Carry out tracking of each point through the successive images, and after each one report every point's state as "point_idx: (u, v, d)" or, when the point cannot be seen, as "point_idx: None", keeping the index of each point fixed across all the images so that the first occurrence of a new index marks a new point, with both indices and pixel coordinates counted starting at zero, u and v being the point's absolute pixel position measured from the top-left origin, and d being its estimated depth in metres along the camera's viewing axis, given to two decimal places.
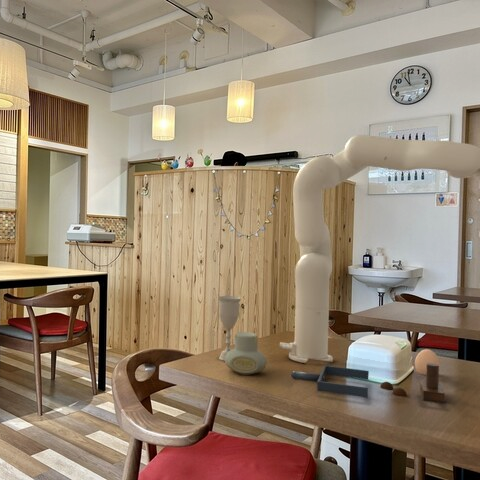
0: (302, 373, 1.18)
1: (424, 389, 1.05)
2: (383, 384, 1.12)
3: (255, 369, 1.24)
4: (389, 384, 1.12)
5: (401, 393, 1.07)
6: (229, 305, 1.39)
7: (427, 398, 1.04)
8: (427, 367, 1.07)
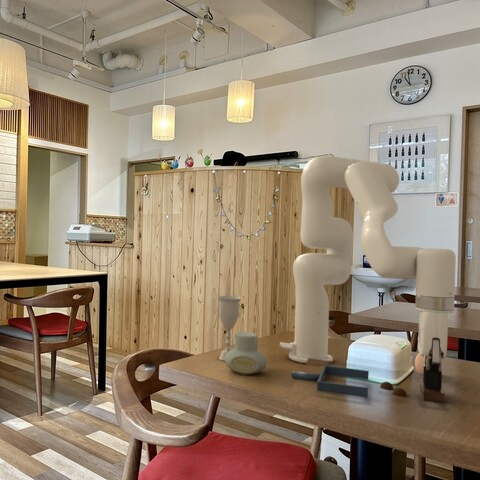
0: (302, 373, 1.18)
1: (424, 389, 1.05)
2: (383, 384, 1.12)
3: (255, 369, 1.24)
4: (389, 384, 1.12)
5: (401, 393, 1.07)
6: (229, 305, 1.39)
7: (427, 398, 1.04)
8: None
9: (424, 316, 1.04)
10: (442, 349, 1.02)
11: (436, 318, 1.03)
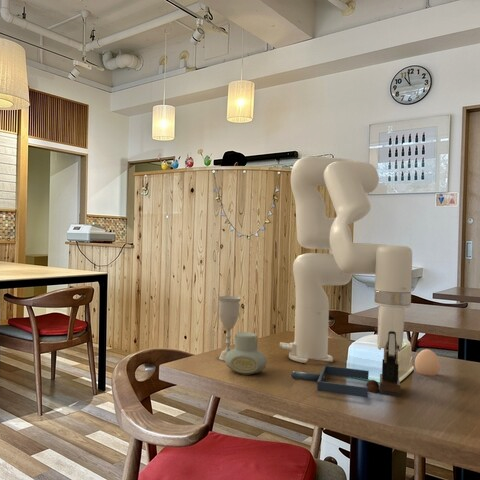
0: (302, 373, 1.18)
1: (381, 381, 1.09)
2: None
3: (255, 369, 1.24)
4: (367, 386, 1.14)
5: None
6: (229, 305, 1.39)
7: (384, 390, 1.08)
8: None
9: (381, 310, 1.08)
10: (398, 342, 1.06)
11: (392, 312, 1.07)
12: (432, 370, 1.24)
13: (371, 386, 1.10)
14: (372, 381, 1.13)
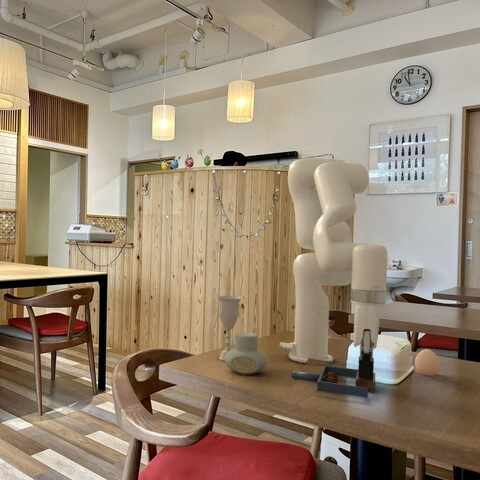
0: (302, 373, 1.18)
1: (357, 378, 1.11)
2: None
3: (255, 369, 1.24)
4: None
5: None
6: (229, 305, 1.39)
7: (359, 386, 1.10)
8: None
9: (357, 308, 1.10)
10: (372, 340, 1.08)
11: (367, 310, 1.09)
12: (432, 370, 1.24)
13: (328, 379, 1.14)
14: (328, 374, 1.18)
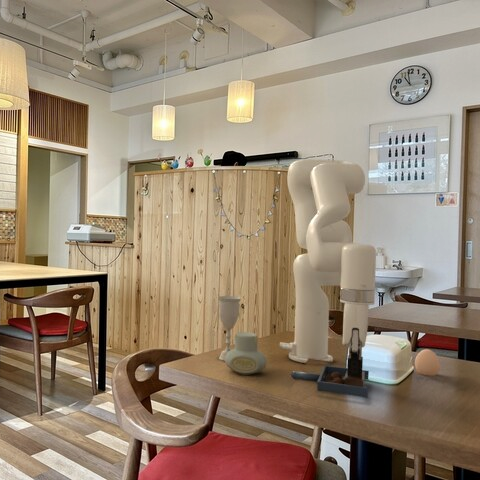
0: (302, 373, 1.18)
1: (346, 376, 1.12)
2: None
3: (255, 369, 1.24)
4: (331, 376, 1.18)
5: None
6: (229, 305, 1.39)
7: None
8: None
9: (345, 308, 1.11)
10: (361, 338, 1.09)
11: (356, 309, 1.10)
12: (432, 370, 1.24)
13: (341, 380, 1.13)
14: (337, 373, 1.18)
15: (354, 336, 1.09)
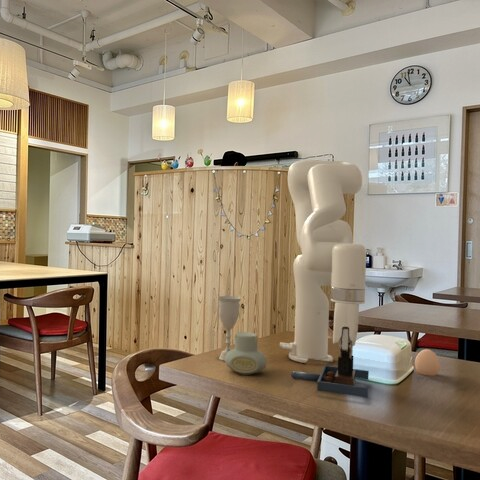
0: (302, 373, 1.18)
1: (336, 375, 1.13)
2: None
3: (255, 369, 1.24)
4: None
5: None
6: (229, 305, 1.39)
7: (338, 383, 1.12)
8: None
9: (336, 307, 1.12)
10: (351, 337, 1.10)
11: (346, 308, 1.10)
12: (432, 370, 1.24)
13: (324, 380, 1.14)
14: None
15: (344, 335, 1.10)
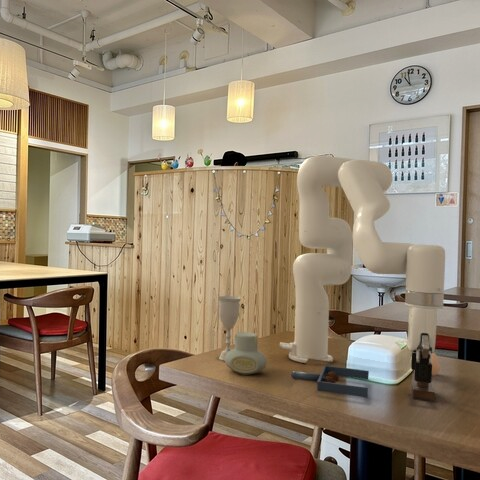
0: (302, 373, 1.18)
1: (414, 388, 1.06)
2: None
3: (255, 369, 1.24)
4: None
5: None
6: (229, 305, 1.39)
7: (417, 397, 1.05)
8: None
9: (413, 312, 1.05)
10: (430, 344, 1.03)
11: (425, 313, 1.04)
12: (432, 370, 1.24)
13: (325, 379, 1.14)
14: (330, 372, 1.19)
15: None
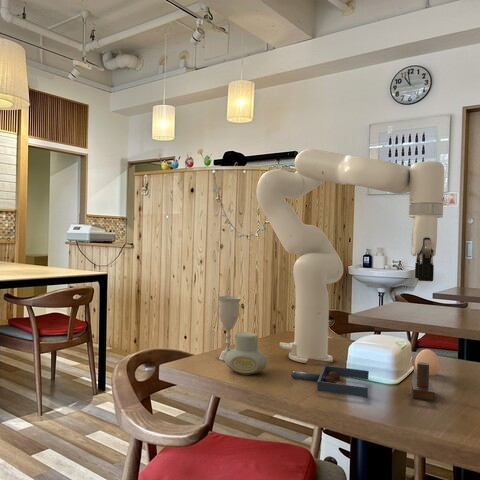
0: (302, 373, 1.18)
1: (414, 388, 1.06)
2: None
3: (255, 369, 1.24)
4: None
5: None
6: (229, 305, 1.39)
7: (417, 397, 1.05)
8: (417, 366, 1.08)
9: (416, 220, 1.18)
10: (432, 247, 1.16)
11: (427, 220, 1.17)
12: (432, 370, 1.24)
13: (325, 379, 1.14)
14: (331, 372, 1.18)
15: None
